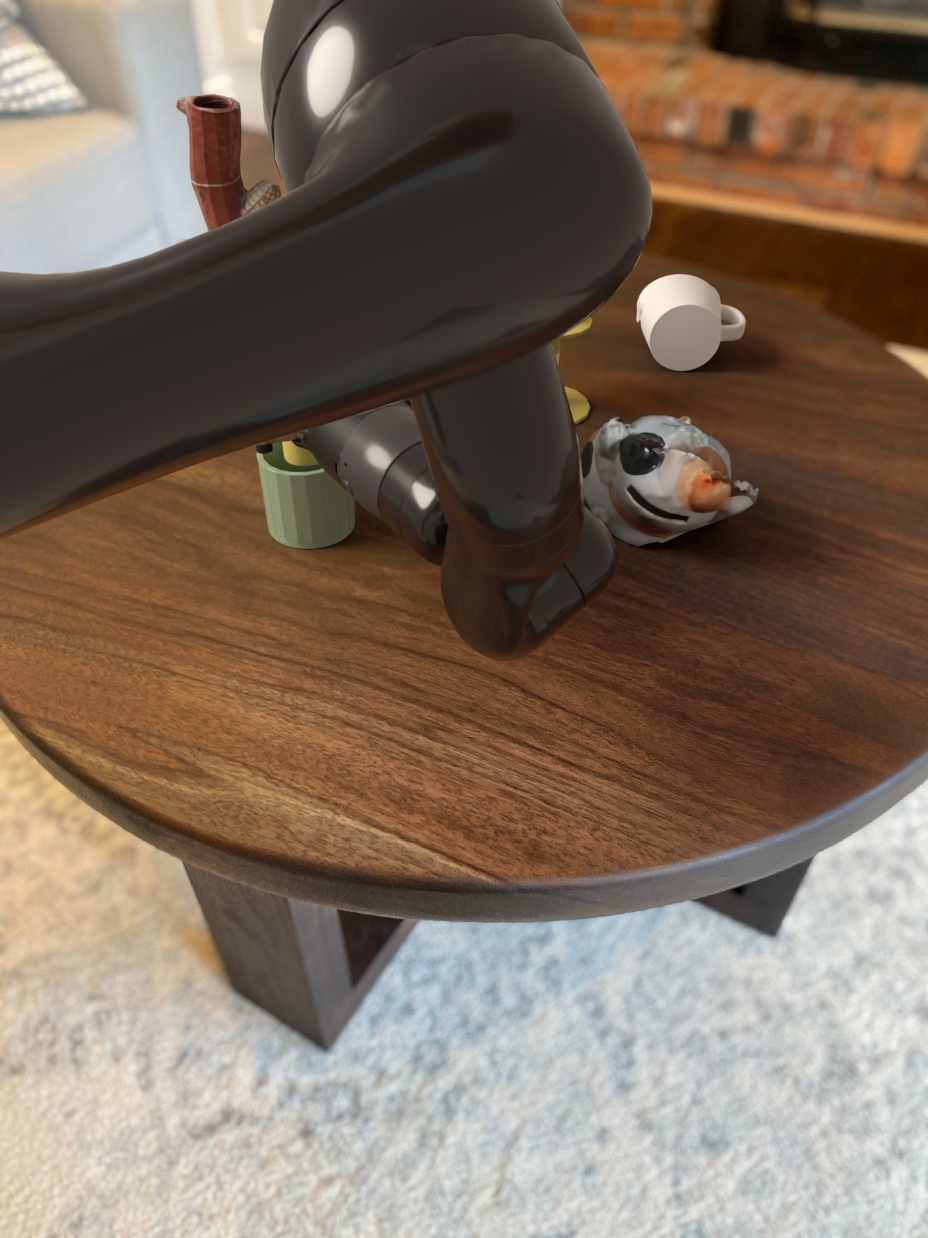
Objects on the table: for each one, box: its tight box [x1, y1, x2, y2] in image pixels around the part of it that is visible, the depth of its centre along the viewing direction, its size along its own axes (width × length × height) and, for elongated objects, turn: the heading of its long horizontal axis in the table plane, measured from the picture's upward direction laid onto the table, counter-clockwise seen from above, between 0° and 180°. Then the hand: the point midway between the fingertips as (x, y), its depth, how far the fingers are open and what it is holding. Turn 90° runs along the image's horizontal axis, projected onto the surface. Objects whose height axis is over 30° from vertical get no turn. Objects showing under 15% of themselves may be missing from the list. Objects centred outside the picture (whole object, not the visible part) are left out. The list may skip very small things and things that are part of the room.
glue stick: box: [282, 441, 318, 466], centre depth 77 cm, size 4×4×9 cm
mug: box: [636, 273, 747, 372], centre depth 109 cm, size 12×9×8 cm
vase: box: [175, 93, 283, 244], centre depth 89 cm, size 10×7×30 cm
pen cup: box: [255, 442, 356, 550], centre depth 82 cm, size 8×8×8 cm
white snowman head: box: [580, 414, 760, 547], centre depth 80 cm, size 15×12×14 cm
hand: (281, 365), depth 77 cm, fingers closed on glue stick, 3 cm apart
